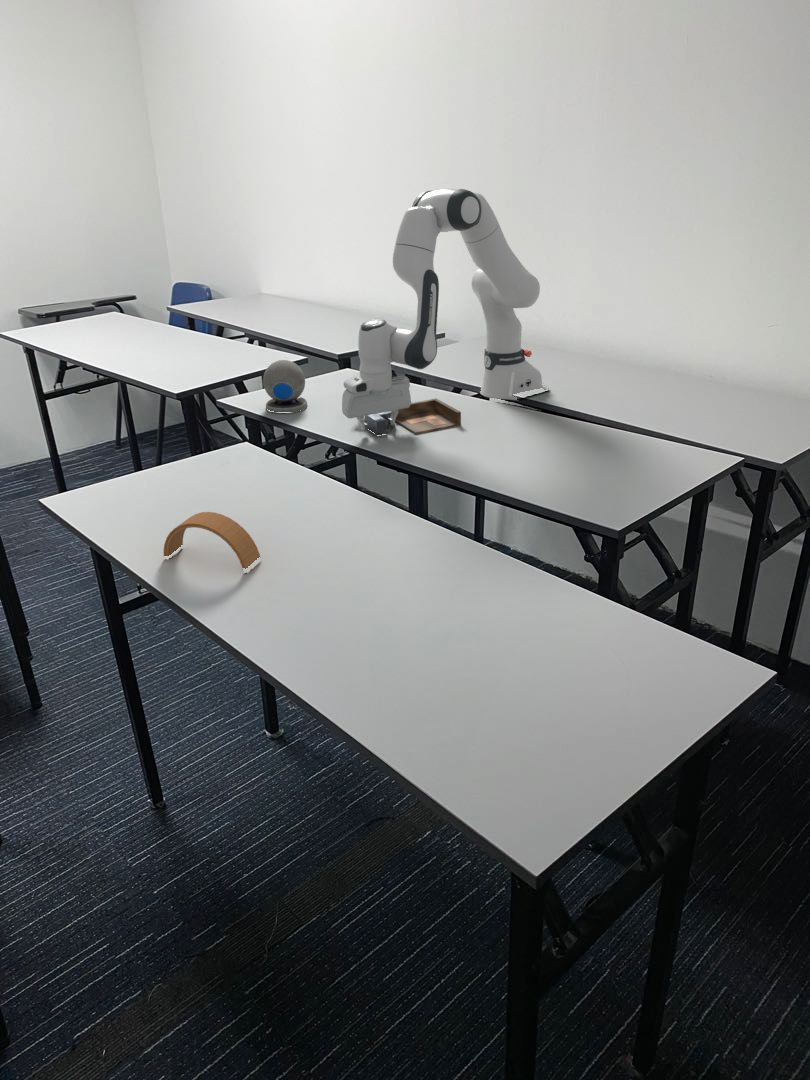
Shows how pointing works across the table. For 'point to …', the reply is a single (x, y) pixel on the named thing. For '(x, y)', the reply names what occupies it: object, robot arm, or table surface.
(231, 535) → the arch
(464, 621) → the table surface
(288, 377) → the webcam
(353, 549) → the table surface
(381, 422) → the angle bracket
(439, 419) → the corner arena
